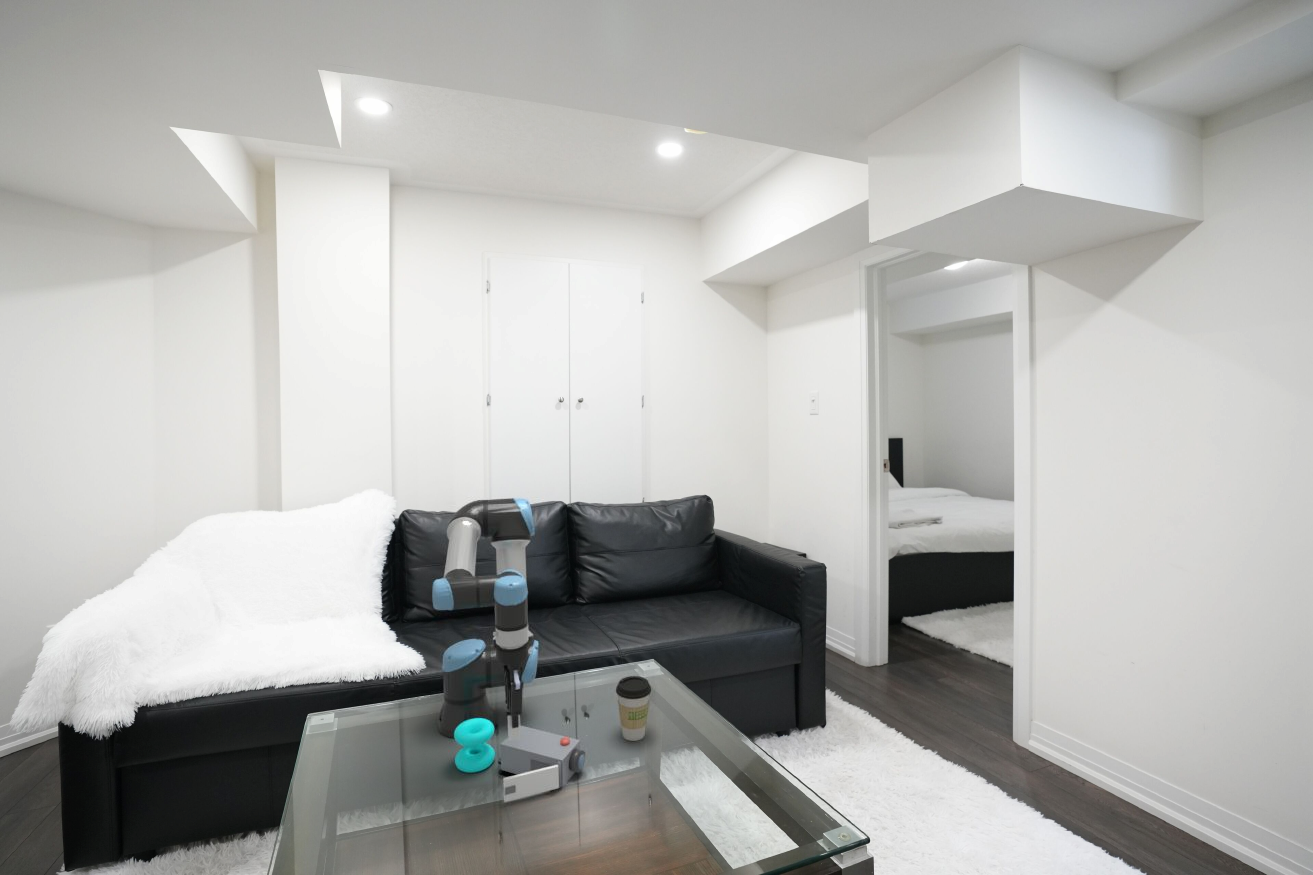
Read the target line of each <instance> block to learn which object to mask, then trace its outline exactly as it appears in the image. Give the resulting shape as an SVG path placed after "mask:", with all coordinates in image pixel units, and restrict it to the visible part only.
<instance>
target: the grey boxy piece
mask: <svg viewBox="0 0 1313 875" xmlns="http://www.w3.org/2000/svg"><path fill="white" fill-rule="evenodd" d="M520 731H521V738H518V739H514V740H509V738H508V737H507V738H505V739H504V740H503V741H502V742H501V743H500V744H499V745H500V770H501V771H503V772H504V771H505V772H508V773H511V774H515V775H518V774H522V773H526V772H530V771H534V770H538V769H542V768H546V767H550V766H554V765H557V762H558V761H561V788H564V787H565V786H566V784H567V783H568V782H569V781H570V779H572V777H573V776H574V775H575V774H576V773H580V772H581V771H582V770H583V768H584V766H585V762H586V752H585V751H584V750H583V749H581V740H579V739H578V738H577V739H576V738H573V737H569V736H565V735H560V734H557V733H552V732H548V731H544V730H540V729H536V728H533V727H528V726H526V725H525V726H524V725H520Z"/></svg>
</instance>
